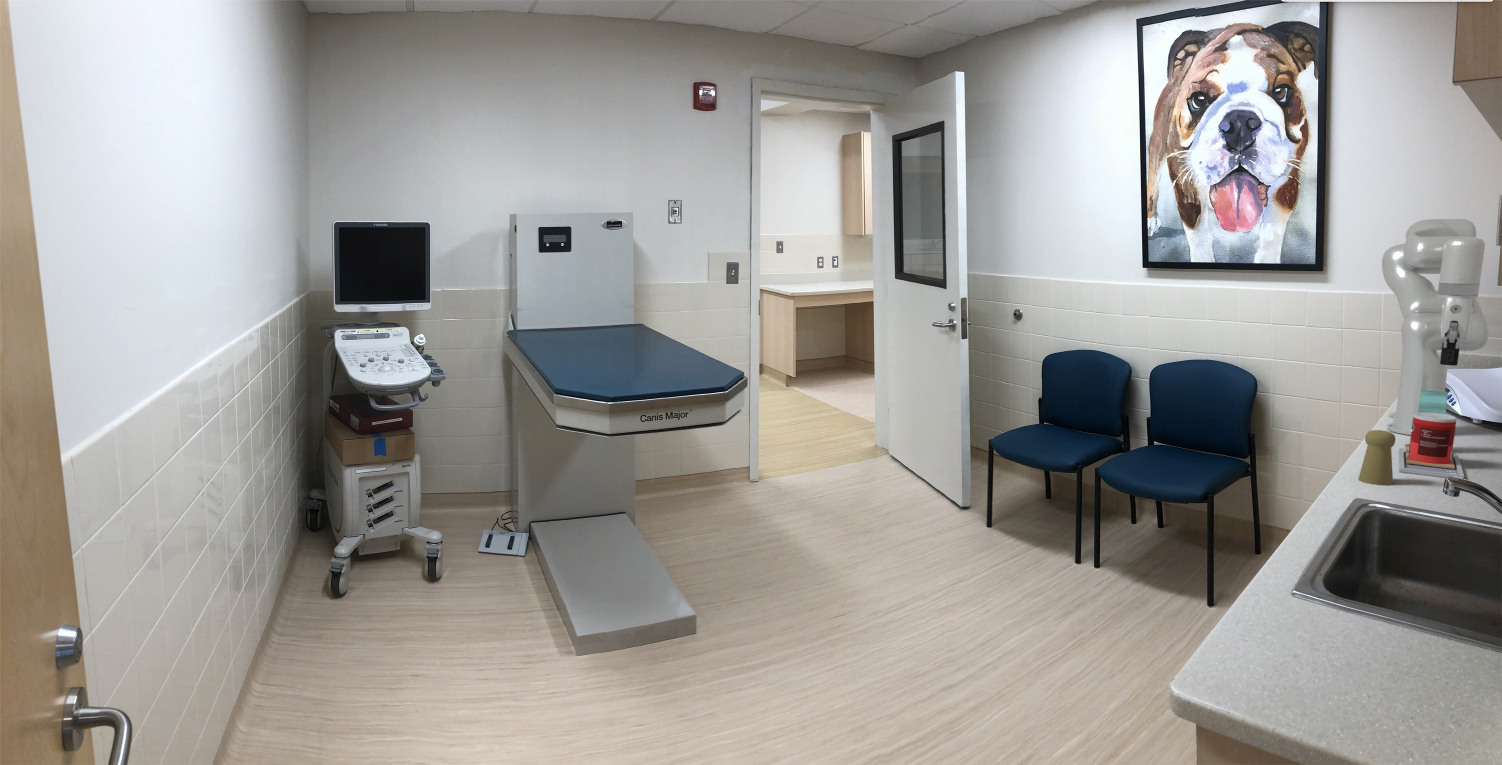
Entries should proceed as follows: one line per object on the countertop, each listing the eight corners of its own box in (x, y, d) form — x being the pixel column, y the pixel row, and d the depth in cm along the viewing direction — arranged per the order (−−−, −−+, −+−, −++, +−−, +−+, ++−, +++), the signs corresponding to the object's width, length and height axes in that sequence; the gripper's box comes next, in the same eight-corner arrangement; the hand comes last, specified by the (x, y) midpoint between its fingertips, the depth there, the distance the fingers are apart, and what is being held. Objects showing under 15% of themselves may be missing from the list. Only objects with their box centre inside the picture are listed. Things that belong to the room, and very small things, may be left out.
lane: (1463, 479, 183) (1464, 475, 183) (1399, 472, 189) (1399, 468, 189) (1457, 458, 200) (1457, 454, 200) (1398, 451, 207) (1399, 448, 207)
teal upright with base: (1454, 468, 190) (1462, 406, 187) (1406, 463, 195) (1413, 402, 192) (1449, 449, 206) (1456, 392, 204) (1405, 445, 211) (1411, 389, 209)
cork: (1381, 486, 179) (1387, 435, 177) (1351, 479, 184) (1357, 429, 182) (1399, 483, 181) (1405, 432, 179) (1369, 476, 187) (1374, 426, 185)
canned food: (1429, 457, 200) (1435, 411, 198) (1460, 466, 192) (1466, 419, 190) (1398, 458, 199) (1404, 412, 198) (1427, 467, 192) (1434, 420, 190)
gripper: (1479, 294, 194) (1469, 368, 197) (1478, 288, 207) (1468, 358, 210) (1437, 293, 198) (1427, 365, 202) (1438, 287, 212) (1429, 355, 215)
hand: (1448, 362), depth 206 cm, fingers open, 9 cm apart
